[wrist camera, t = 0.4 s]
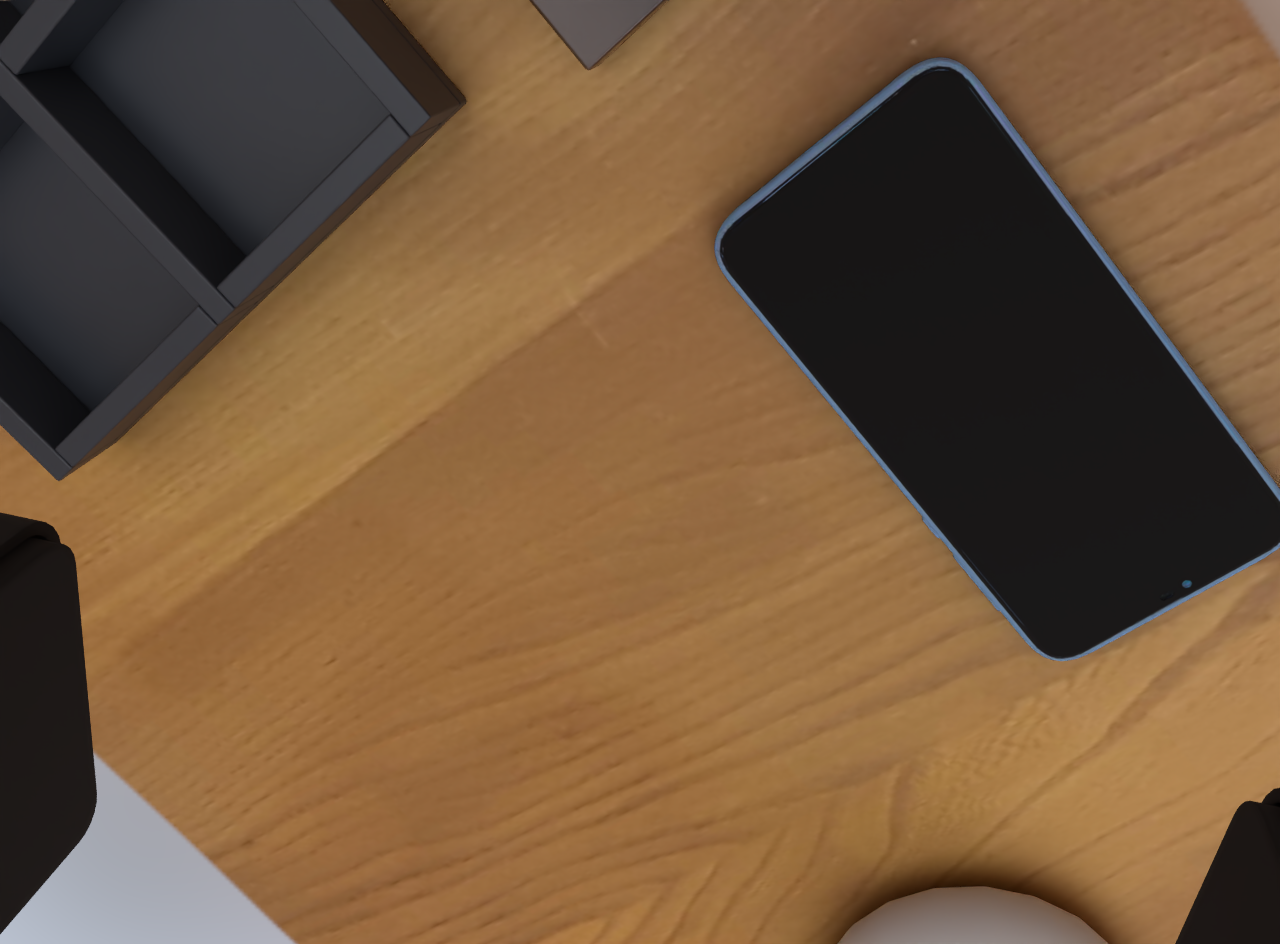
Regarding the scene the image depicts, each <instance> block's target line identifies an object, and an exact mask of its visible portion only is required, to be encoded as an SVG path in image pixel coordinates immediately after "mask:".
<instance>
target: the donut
mask: <svg viewBox="0 0 1280 944" xmlns="http://www.w3.org/2000/svg"><path fill="white" fill-rule="evenodd" d="M838 944H1108V943H1107V942H1106V941H1105V940H1104V939H1103V938H1102V937H1101V936H1099V935H1098V934H1097V933H1096V932H1095V931H1094V930H1093V929H1092V928H1090V927H1089V926H1088V925H1087V924H1086V923H1085V922H1084V921H1083V920H1081V919H1080V918H1079V917H1077V916H1075V915H1073V914H1071V913H1069V912H1067V911H1065V910H1062V909H1060V908H1058V907H1056V906H1054V905H1052V904H1050V903H1048V902H1046V901H1044V900H1041V899H1039V898H1037V897H1035V896H1031V895H1026V894H1021V893H1016V892H1011V891H1006V890H1001V889H996V888H991V887H986V886H977V887H950V888H932V889H929V890H926V891H922V892H919V893H916V894H912V895H909V896H905V897H902V898H899V899H895V900H892V901H888V902H887V903H885V904H884V905H882V906H881V907H879V908H878V909H876V910H875V911H873V912H872V913H870V914H868V915H867V916H865V917H864V918H862V919H861V920H859V921H858V922H856V923H855V924H853V925H852V926H851V927H850V929H849V930H848V931H847V932H846V933H845V935H844V936H843V937H842V939H841V940H840V941H839V943H838Z"/></svg>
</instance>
